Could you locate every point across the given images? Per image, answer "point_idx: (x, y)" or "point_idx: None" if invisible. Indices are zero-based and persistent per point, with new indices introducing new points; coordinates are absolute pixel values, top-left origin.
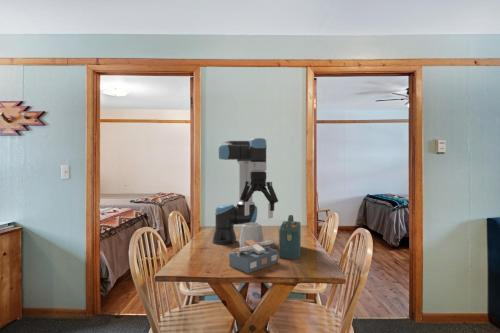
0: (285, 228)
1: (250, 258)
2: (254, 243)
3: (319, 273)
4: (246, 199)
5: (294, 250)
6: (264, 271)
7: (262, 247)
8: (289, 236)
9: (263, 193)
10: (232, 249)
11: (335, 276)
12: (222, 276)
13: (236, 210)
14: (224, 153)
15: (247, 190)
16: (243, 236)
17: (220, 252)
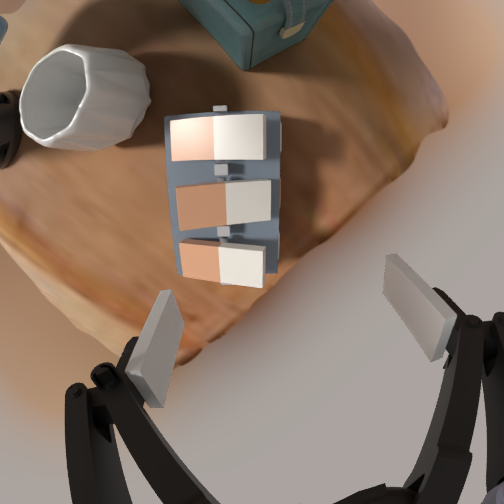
0: None
1: (275, 261)
2: (214, 197)
3: (414, 115)
4: (151, 420)
5: (297, 36)
6: (298, 209)
7: (256, 182)
8: (294, 28)
9: (419, 458)
10: (184, 276)
11: (443, 112)
12: (240, 311)
13: None
14: None
15: (110, 494)
16: (80, 147)
17: (68, 202)
